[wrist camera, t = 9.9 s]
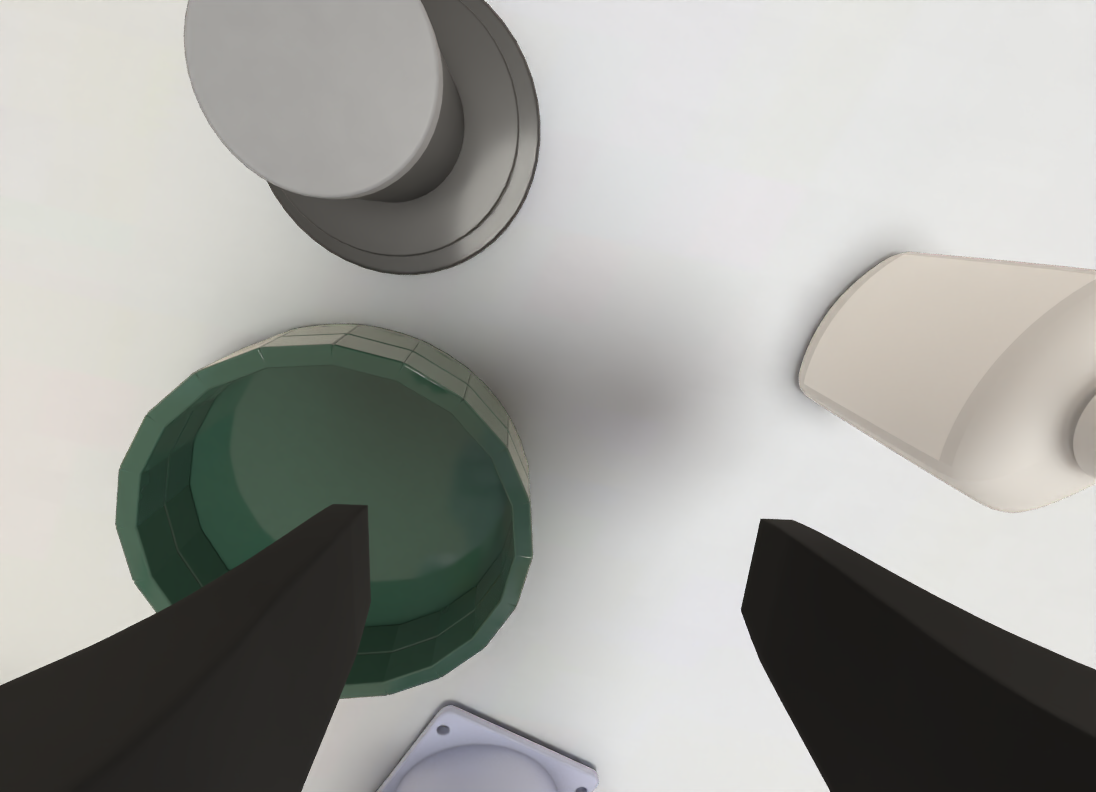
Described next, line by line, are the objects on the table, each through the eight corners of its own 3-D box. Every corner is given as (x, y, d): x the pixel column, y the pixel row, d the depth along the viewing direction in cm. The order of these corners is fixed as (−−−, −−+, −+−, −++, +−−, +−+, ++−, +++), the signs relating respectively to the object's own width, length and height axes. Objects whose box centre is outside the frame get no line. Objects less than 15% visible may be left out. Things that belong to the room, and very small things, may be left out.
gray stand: (450, 320, 18) (442, 333, 16) (215, 171, 16) (176, 165, 14) (591, 95, 16) (601, 79, 14) (344, -101, 14) (318, -149, 12)
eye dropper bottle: (765, 319, 19) (1167, 484, 7) (922, 235, 18) (1632, 269, 7) (809, 423, 20) (1208, 703, 8) (957, 348, 19) (1598, 539, 8)
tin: (422, 676, 22) (407, 748, 19) (124, 539, 20) (53, 597, 17) (595, 444, 20) (610, 486, 17) (276, 247, 17) (224, 254, 14)
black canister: (416, 235, 15) (364, 245, 10) (277, 143, 14) (140, 100, 9) (496, 98, 14) (485, 30, 9) (353, -9, 13) (249, -155, 8)
